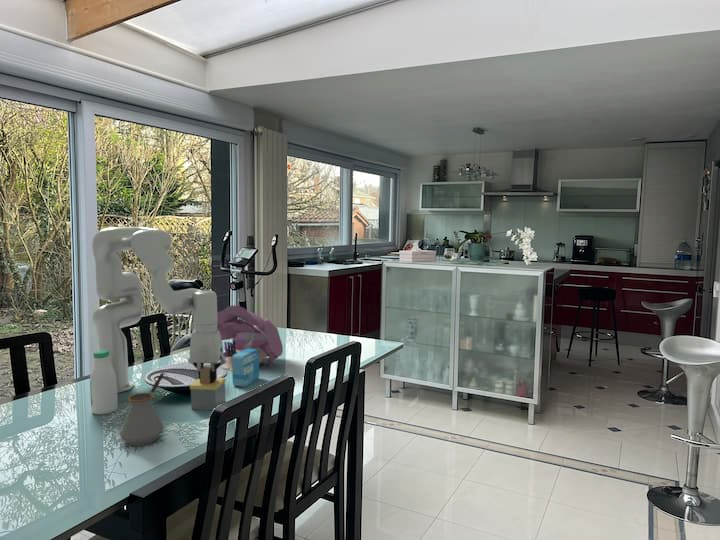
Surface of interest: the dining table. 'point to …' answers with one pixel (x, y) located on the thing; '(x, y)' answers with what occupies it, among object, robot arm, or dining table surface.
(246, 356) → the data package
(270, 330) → the pink curved piece
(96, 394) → the milk bottle
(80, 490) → the dining table surface
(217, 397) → the box
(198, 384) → the lid
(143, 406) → the coffee pot
